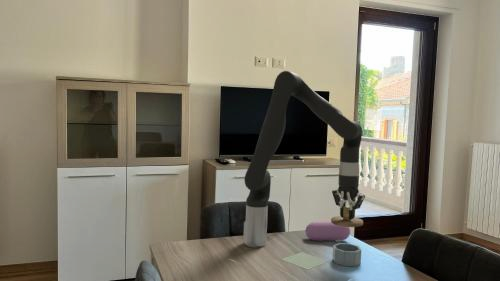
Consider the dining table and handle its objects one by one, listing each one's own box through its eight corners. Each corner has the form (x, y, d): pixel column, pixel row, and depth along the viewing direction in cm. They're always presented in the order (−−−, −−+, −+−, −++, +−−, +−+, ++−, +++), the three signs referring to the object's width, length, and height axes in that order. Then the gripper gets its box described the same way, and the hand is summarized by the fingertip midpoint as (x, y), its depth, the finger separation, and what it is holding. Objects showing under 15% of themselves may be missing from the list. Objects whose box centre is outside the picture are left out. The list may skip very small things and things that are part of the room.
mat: (280, 260, 158) (280, 259, 158) (301, 253, 167) (302, 252, 167) (307, 270, 149) (307, 269, 148) (328, 262, 158) (328, 261, 157)
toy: (306, 244, 181) (351, 243, 181) (306, 225, 181) (351, 224, 180) (304, 238, 189) (348, 238, 189) (304, 220, 189) (348, 219, 188)
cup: (328, 261, 158) (328, 246, 158) (342, 256, 165) (343, 241, 165) (350, 269, 151) (351, 254, 151) (364, 263, 158) (365, 248, 158)
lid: (324, 221, 157) (325, 206, 156) (342, 217, 165) (343, 202, 165) (351, 228, 148) (352, 212, 148) (369, 223, 156) (369, 207, 156)
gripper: (327, 172, 158) (326, 216, 159) (359, 176, 148) (357, 223, 149) (339, 170, 163) (337, 213, 164) (370, 175, 153) (368, 220, 154)
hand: (347, 218), depth 156 cm, fingers closed on lid, 3 cm apart
